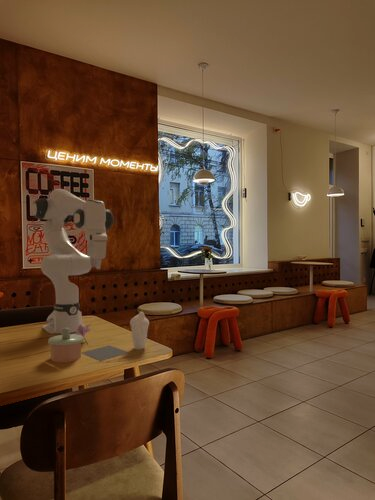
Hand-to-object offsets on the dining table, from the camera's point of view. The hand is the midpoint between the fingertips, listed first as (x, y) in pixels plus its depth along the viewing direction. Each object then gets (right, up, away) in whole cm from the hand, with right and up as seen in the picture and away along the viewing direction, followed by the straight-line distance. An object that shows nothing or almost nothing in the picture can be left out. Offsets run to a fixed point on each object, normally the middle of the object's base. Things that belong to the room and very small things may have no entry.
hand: (95, 268), depth 157 cm
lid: (-7, -28, -17) cm, 33 cm away
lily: (-7, -34, +2) cm, 35 cm away
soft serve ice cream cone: (+20, -35, -4) cm, 40 cm away
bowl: (-7, -35, -17) cm, 39 cm away
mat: (+7, -35, -11) cm, 37 cm away
